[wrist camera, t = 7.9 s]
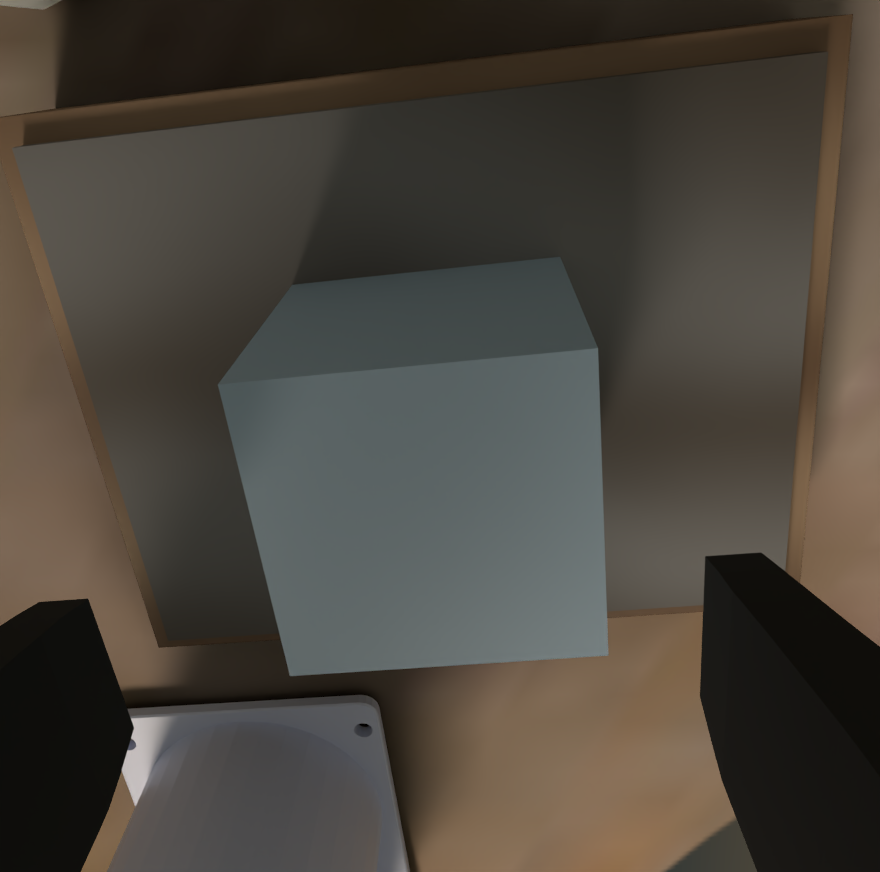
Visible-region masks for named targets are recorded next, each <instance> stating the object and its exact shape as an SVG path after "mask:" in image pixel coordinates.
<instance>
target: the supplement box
mask: <svg viewBox="0 0 880 872" xmlns="http://www.w3.org/2000/svg"><path fill="white" fill-rule="evenodd" d="M60 1H62V0H0V5H2V6H11V7H21V8H34V9H46V8H48V7H50V6H52V5H54V4H56V3H58V2H60Z"/></svg>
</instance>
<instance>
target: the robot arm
mask: <svg viewBox="0 0 880 872" xmlns="http://www.w3.org/2000/svg"><path fill="white" fill-rule="evenodd" d="M700 698H701V702H702V706H703V710H704V714H705V718H706V722H707V726H708V729H709V733H710V737H711V741H712V745H713V749H714V752H715V756H716V760H717V763H718V767H719V771H720V774H721V778H722V781H723V784H724V787H725V789H726V792H727V795H728V797H729V800H730V803H731V805H732V808H733V810H734V813H735V815H736V818H737V821H738V823H739V826H740V828H741V831H742V833H743V836H744V838H745V841H746V844H747V846H748V849H749V851H750V854H751V856H752V859H753V862H754V864H755V867H756V869H757V872H880V647H879V646H878V645H877V644H876V643H874V642H873V641H872V640H870V639H869V638H868V637H866V636H865V635H864V634H863V633H861V632H860V631H859V630H858V629H856V628H855V627H854V626H852V625H851V624H850V623H849V622H847V621H846V620H845V619H844V618H842V617H841V616H840V615H839V614H837V613H836V612H835V611H834V610H832V609H831V608H830V607H829V606H827V605H826V604H825V603H824V602H822V601H821V600H820V599H819V598H817V597H816V596H815V595H814V594H812V593H811V592H810V591H809V590H808V589H806V588H805V587H804V586H803V585H801V584H800V583H799V582H798V581H796V580H795V579H794V578H793V577H792V576H790V575H789V574H788V573H787V572H785V571H784V570H783V569H782V568H780V567H779V566H778V565H777V564H775V563H774V562H773V561H772V560H770V559H769V558H768V557H766V556H765V555H764V554H763V553H761V552H760V553H745V554H731V555H716V556H705V575H704V603H703V631H702V658H701V686H700ZM361 723H363V724H368V725H369V726H368V727H363V726H360V725H359V724H361ZM131 739H133V740H131ZM121 771H122V773H123V775H124V778H125V781H126V783H127V786H128V789H129V791H130V794H131V796H132V799H133V802H134V804H135V809H134V811H133V814H132V816H131V818H130V821H129V823H128V825H127V827H126V830H125V832H124V834H123V836H122V839H121V841H120V843H119V845H118V848H117V850H116V852H115V855H114V857H113V859H112V861H111V864H110V866H109V868H108V870H107V872H410V868H409V863H408V857H407V852H406V847H405V841H404V836H403V831H402V825H401V820H400V815H399V809H398V804H397V799H396V793H395V788H394V782H393V777H392V772H391V766H390V761H389V756H388V750H387V745H386V740H385V734H384V729H383V724H382V718H381V713H380V708H379V705H378V703H377V702H376V701H375V700H374V699H373V698H371V697H369V696H367V695H348V696H332V697H315V698H298V699H282V700H265V701H249V702H232V703H215V704H199V705H182V706H165V707H149V708H132V709H127V707H126V704H125V701H124V698H123V695H122V693H121V690H120V687H119V684H118V681H117V679H116V676H115V673H114V670H113V667H112V665H111V662H110V659H109V656H108V653H107V651H106V648H105V645H104V642H103V639H102V637H101V634H100V631H99V628H98V625H97V623H96V620H95V617H94V614H93V611H92V609H91V606H90V603H89V600H88V599H77V600H63V601H48V602H39V603H37V604H35V605H34V606H32V607H30V608H28V609H27V610H25V611H23V612H21V613H20V614H18V615H17V616H15V617H13V618H12V619H10V620H9V621H7V622H6V623H4V624H2V625H1V626H0V872H81V870H82V867H83V865H84V863H85V861H86V859H87V856H88V854H89V852H90V850H91V848H92V846H93V843H94V841H95V839H96V837H97V835H98V832H99V830H100V828H101V826H102V823H103V821H104V819H105V817H106V814H107V812H108V810H109V807H110V804H111V801H112V798H113V795H114V792H115V789H116V786H117V783H118V780H119V777H120V774H121Z"/></svg>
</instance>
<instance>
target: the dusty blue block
mask: <svg viewBox="0 0 880 872" xmlns="http://www.w3.org/2000/svg"><path fill="white" fill-rule="evenodd" d="M218 387H219V391H220V395H221V399H222V403H223V407H224V412H225V416H226V420H227V424H228V428H229V432H230V436H231V440H232V444H233V448H234V452H235V456H236V460H237V464H238V468H239V472H240V476H241V480H242V484H243V488H244V492H245V496H246V500H247V505H248V509H249V513H250V517H251V521H252V525H253V529H254V533H255V537H256V541H257V545H258V549H259V553H260V557H261V561H262V565H263V569H264V573H265V577H266V581H267V585H268V589H269V593H270V597H271V602H272V606H273V610H274V614H275V618H276V622H277V626H278V630H279V634H280V638H281V642H282V646H283V650H284V654H285V658H286V662H287V666H288V670H289V674H290V676H300V675H316V674H331V673H346V672H362V671H377V670H392V669H408V668H423V667H438V666H454V665H469V664H484V663H500V662H515V661H531V660H546V659H561V658H577V657H592V656H607V655H608V630H607V600H606V571H605V541H604V511H603V481H602V452H601V422H600V392H599V362H598V347H597V345H596V342H595V340H594V337H593V335H592V333H591V330H590V328H589V325H588V323H587V320H586V318H585V316H584V313H583V311H582V308H581V306H580V303H579V301H578V299H577V296H576V294H575V291H574V289H573V287H572V284H571V282H570V279H569V277H568V274H567V272H566V270H565V267H564V265H563V262H562V260H561V258H560V257H553V258H543V259H534V260H524V261H515V262H505V263H495V264H486V265H476V266H467V267H457V268H448V269H438V270H428V271H419V272H409V273H400V274H390V275H381V276H371V277H362V278H352V279H342V280H333V281H323V282H314V283H304V284H295V285H292V286H291V287H290V289H289V290H288V291H287V293H286V294H285V295H284V297H283V298H282V299H281V301H280V302H279V303H278V305H277V306H276V307H275V309H274V310H273V311H272V313H271V314H270V315H269V317H268V318H267V319H266V321H265V322H264V323H263V325H262V326H261V327H260V329H259V330H258V331H257V333H256V334H255V335H254V337H253V338H252V339H251V341H250V342H249V343H248V345H247V346H246V347H245V349H244V350H243V351H242V353H241V354H240V355H239V357H238V358H237V360H236V361H235V362H234V364H233V365H232V366H231V368H230V369H229V370H228V372H227V373H226V374H225V376H224V377H223V378H222V380H221V381H220V382H219V384H218Z"/></svg>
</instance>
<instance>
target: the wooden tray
mask: <svg viewBox="0 0 880 872" xmlns="http://www.w3.org/2000/svg"><path fill="white" fill-rule="evenodd" d="M852 19H853V14H851V15H838V16H825V17H812V18H799V19H790V20H782V21H774V22H765V23H757V24H749V25H741V26H733V27H724V28H716V29H708V30H700V31H691V32H683V33H675V34H667V35H658V36H650V37H642V38H634V39H625V40H617V41H609V42H601V43H592V44H584V45H576V46H568V47H559V48H551V49H543V50H535V51H526V52H518V53H510V54H502V55H494V56H485V57H477V58H469V59H461V60H452V61H444V62H436V63H428V64H419V65H411V66H403V67H395V68H386V69H378V70H370V71H362V72H353V73H345V74H337V75H329V76H320V77H312V78H304V79H296V80H288V81H279V82H271V83H263V84H255V85H246V86H238V87H230V88H222V89H213V90H205V91H197V92H189V93H180V94H172V95H164V96H156V97H147V98H139V99H131V100H123V101H114V102H106V103H98V104H90V105H81V106H73V107H65V108H57V109H50V110H43V111H37V112H30V113H24V114H17V115H11V116H4V117H0V160H1V163H2V166H3V169H4V172H5V175H6V178H7V181H8V184H9V187H10V191H11V194H12V197H13V200H14V203H15V206H16V209H17V212H18V215H19V218H20V221H21V224H22V228H23V231H24V234H25V237H26V240H27V243H28V246H29V249H30V252H31V255H32V258H33V261H34V264H35V268H36V271H37V274H38V277H39V280H40V283H41V286H42V289H43V292H44V295H45V298H46V301H47V305H48V308H49V311H50V314H51V317H52V320H53V323H54V326H55V329H56V332H57V335H58V338H59V341H60V345H61V348H62V351H63V354H64V357H65V360H66V363H67V366H68V369H69V372H70V375H71V378H72V382H73V385H74V388H75V391H76V394H77V397H78V400H79V403H80V406H81V409H82V412H83V415H84V418H85V422H86V425H87V428H88V431H89V434H90V437H91V440H92V443H93V446H94V449H95V452H96V455H97V459H98V462H99V465H100V468H101V471H102V474H103V477H104V480H105V483H106V486H107V489H108V492H109V495H110V499H111V502H112V505H113V508H114V511H115V514H116V517H117V520H118V523H119V526H120V529H121V532H122V536H123V539H124V542H125V545H126V548H127V551H128V554H129V557H130V560H131V563H132V566H133V569H134V573H135V576H136V579H137V582H138V585H139V588H140V591H141V594H142V597H143V600H144V603H145V606H146V609H147V613H148V616H149V619H150V622H151V625H152V628H153V631H154V634H155V637H156V640H157V643H158V646H159V648H162V647H177V646H192V645H207V644H222V643H237V642H252V641H268V640H281V638H280V634H279V630H278V626H277V622H276V618H275V614H274V610H273V606H272V602H271V597H270V593H269V589H268V585H267V581H266V577H265V573H264V569H263V565H262V561H261V557H260V553H259V549H258V545H257V541H256V537H255V533H254V529H253V525H252V521H251V517H250V513H249V509H248V505H247V500H246V496H245V492H244V488H243V484H242V480H241V476H240V472H239V468H238V464H237V460H236V456H235V452H234V448H233V444H232V440H231V436H230V432H229V428H228V424H227V420H226V416H225V412H224V407H223V403H222V399H221V395H220V391H219V387H218V384H219V382H220V381H221V380H222V378H223V377H224V376H225V374H226V373H227V372H228V370H229V369H230V368H231V366H232V365H233V364H234V362H235V361H236V360H237V358H238V357H239V355H240V354H241V353H242V351H243V350H244V349H245V347H246V346H247V345H248V343H249V342H250V341H251V339H252V338H253V337H254V335H255V334H256V333H257V331H258V330H259V329H260V327H261V326H262V325H263V323H264V322H265V321H266V319H267V318H268V317H269V315H270V314H271V313H272V311H273V310H274V309H275V307H276V306H277V305H278V303H279V302H280V301H281V299H282V298H283V297H284V295H285V294H286V293H287V291H288V290H289V289H290V287H291V286H292V285H295V284H304V283H314V282H323V281H333V280H342V279H352V278H362V277H371V276H381V275H390V274H400V273H409V272H419V271H428V270H438V269H448V268H457V267H467V266H476V265H486V264H495V263H505V262H515V261H524V260H534V259H543V258H553V257H560V258H561V260H562V262H563V265H564V267H565V270H566V272H567V274H568V277H569V279H570V282H571V284H572V287H573V289H574V291H575V294H576V296H577V299H578V301H579V303H580V306H581V308H582V311H583V313H584V316H585V318H586V320H587V323H588V325H589V328H590V330H591V333H592V335H593V337H594V340H595V342H596V345H597V347H598V362H599V392H600V422H601V452H602V481H603V511H604V541H605V571H606V600H607V618H616V617H631V616H646V615H661V614H676V613H691V612H703V603H704V575H705V556H716V555H731V554H745V553H760V552H761V553H763V554H764V555H765V556H766V557H768V558H769V559H770V560H772V561H773V562H774V563H775V564H777V565H778V566H779V567H780V568H782V569H783V570H784V571H785V572H787V573H788V574H789V575H790V576H792V577H793V578H794V579H795V580H796V581H798V582H799V583H800V578H801V567H802V556H803V546H804V535H805V524H806V513H807V503H808V492H809V481H810V470H811V460H812V449H813V438H814V427H815V417H816V406H817V395H818V384H819V374H820V363H821V352H822V341H823V331H824V320H825V309H826V298H827V288H828V277H829V266H830V255H831V245H832V234H833V223H834V212H835V202H836V191H837V180H838V169H839V159H840V148H841V137H842V126H843V116H844V105H845V94H846V83H847V73H848V62H849V51H850V40H851V30H852Z"/></svg>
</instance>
